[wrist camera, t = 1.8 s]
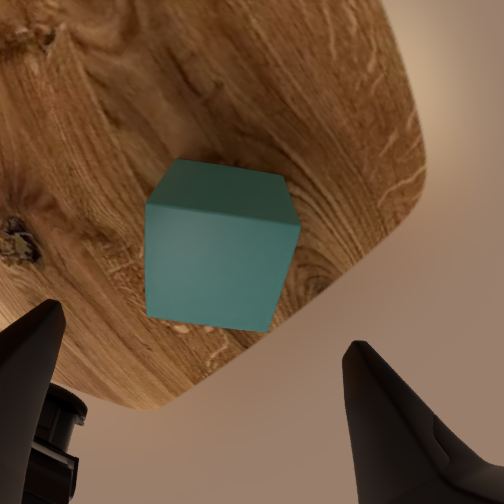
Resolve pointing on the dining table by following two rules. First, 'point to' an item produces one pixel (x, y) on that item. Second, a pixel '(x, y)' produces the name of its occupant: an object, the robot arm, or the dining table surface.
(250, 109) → the dining table surface
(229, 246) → the toy cube
